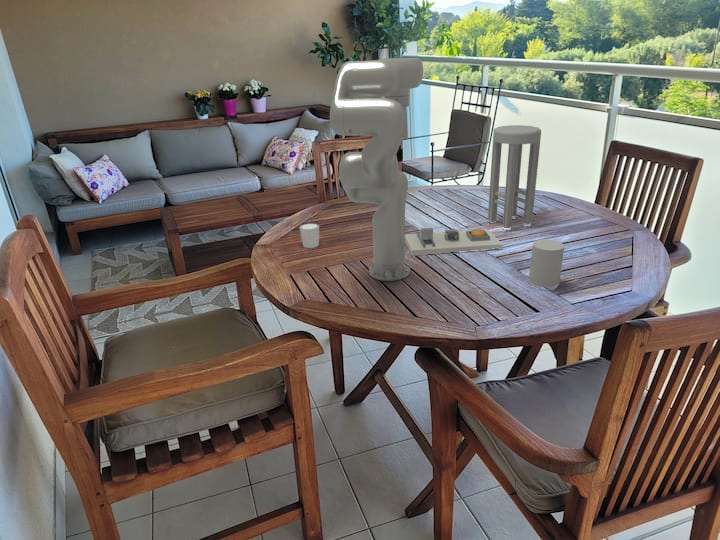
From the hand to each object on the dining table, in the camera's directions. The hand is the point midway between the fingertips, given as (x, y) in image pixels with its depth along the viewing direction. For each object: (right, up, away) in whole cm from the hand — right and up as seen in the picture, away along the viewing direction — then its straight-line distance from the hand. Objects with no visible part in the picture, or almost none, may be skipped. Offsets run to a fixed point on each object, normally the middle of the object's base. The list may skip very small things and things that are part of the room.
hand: (397, 161), depth 166 cm
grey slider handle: (+10, -26, +8) cm, 29 cm away
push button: (+28, -24, +10) cm, 38 cm away
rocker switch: (+19, -23, +9) cm, 31 cm away
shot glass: (-29, -26, +16) cm, 42 cm away
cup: (+40, -39, -20) cm, 59 cm away
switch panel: (+19, -26, +11) cm, 34 cm away
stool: (+44, -18, +27) cm, 55 cm away
